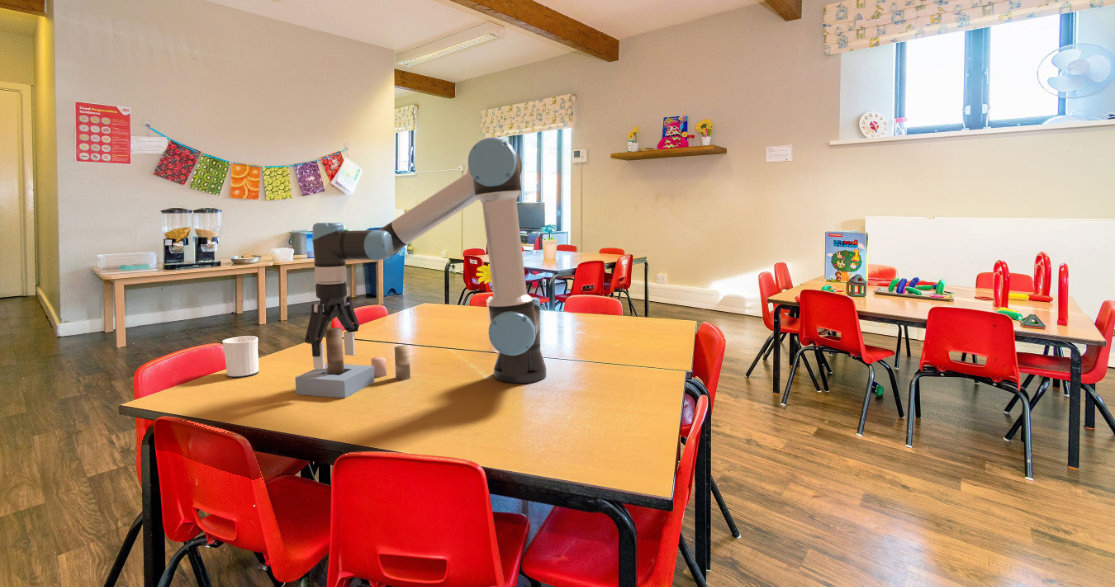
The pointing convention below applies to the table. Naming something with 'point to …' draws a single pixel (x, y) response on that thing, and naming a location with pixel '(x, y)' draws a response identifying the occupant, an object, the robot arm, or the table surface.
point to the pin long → (334, 351)
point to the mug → (241, 356)
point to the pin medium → (402, 362)
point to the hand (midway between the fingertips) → (335, 361)
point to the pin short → (379, 366)
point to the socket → (335, 381)
